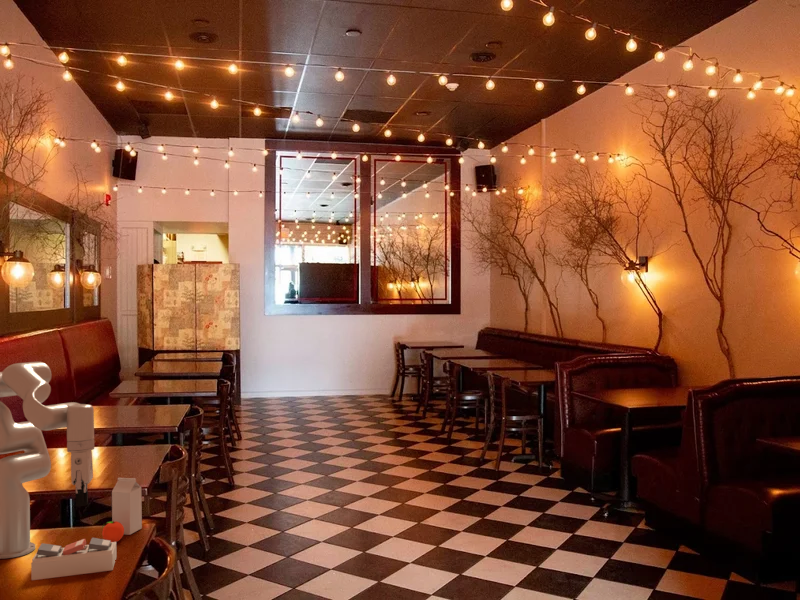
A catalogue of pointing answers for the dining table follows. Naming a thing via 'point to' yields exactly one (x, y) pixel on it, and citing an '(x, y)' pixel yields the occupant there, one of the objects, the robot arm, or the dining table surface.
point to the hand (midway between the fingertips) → (81, 505)
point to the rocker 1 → (49, 550)
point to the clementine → (113, 531)
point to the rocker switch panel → (73, 563)
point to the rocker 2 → (99, 544)
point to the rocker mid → (74, 547)
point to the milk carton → (127, 504)
